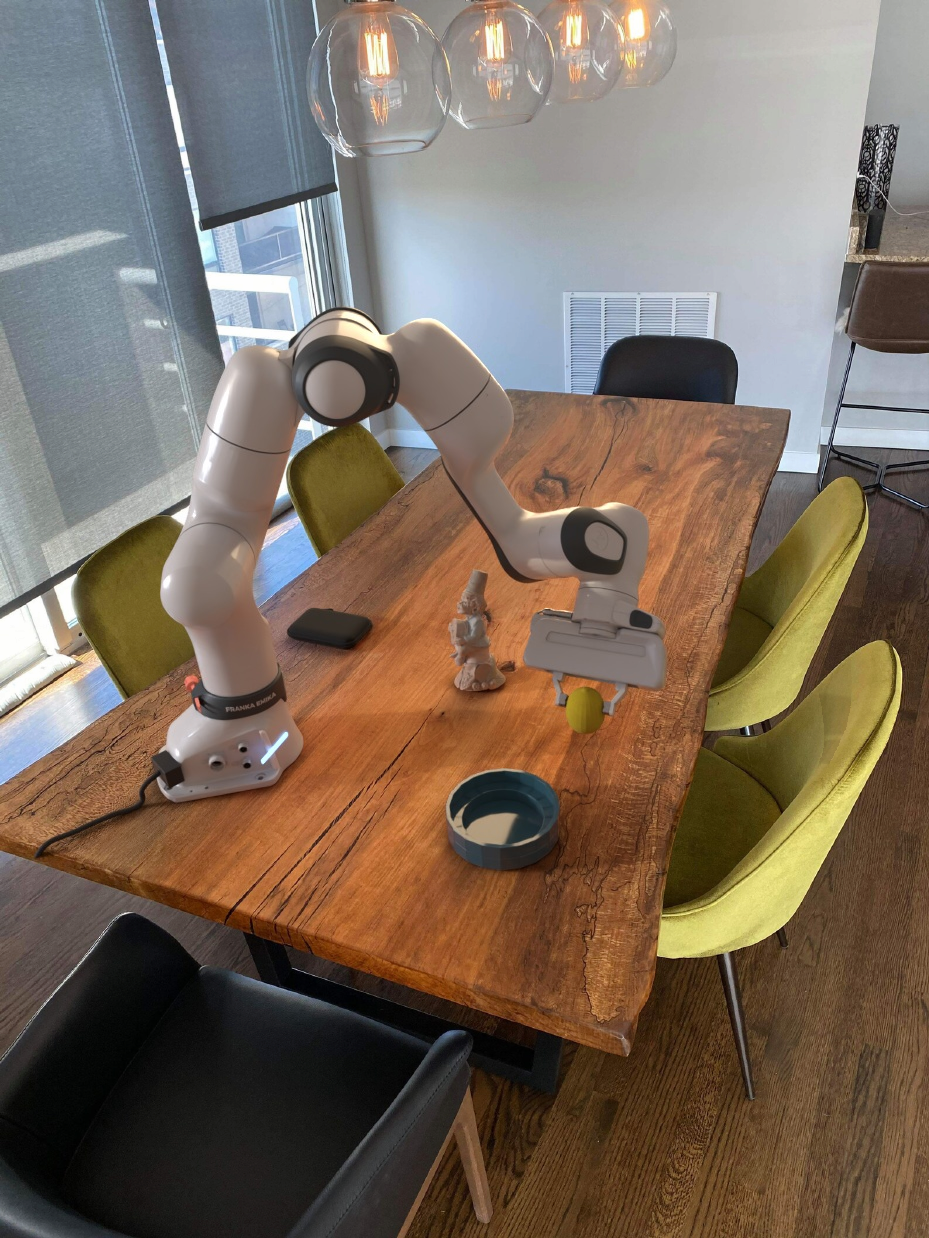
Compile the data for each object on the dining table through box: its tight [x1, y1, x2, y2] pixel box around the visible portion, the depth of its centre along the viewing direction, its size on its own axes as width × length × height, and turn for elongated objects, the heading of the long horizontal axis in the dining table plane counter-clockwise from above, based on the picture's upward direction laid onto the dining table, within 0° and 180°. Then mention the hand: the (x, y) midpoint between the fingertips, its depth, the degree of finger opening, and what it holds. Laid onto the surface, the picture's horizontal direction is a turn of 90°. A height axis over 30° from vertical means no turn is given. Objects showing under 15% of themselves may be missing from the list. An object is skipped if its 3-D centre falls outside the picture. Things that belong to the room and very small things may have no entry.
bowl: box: [444, 767, 561, 871], centre depth 123 cm, size 15×15×4 cm
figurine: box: [447, 568, 506, 692], centre depth 150 cm, size 9×8×20 cm
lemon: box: [565, 686, 606, 735], centre depth 129 cm, size 6×6×8 cm
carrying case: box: [286, 607, 374, 651], centre depth 170 cm, size 11×3×15 cm
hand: (584, 710), depth 128 cm, fingers closed on lemon, 5 cm apart
